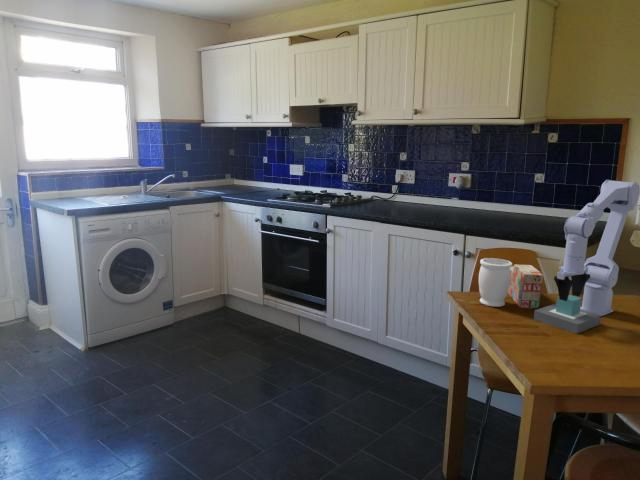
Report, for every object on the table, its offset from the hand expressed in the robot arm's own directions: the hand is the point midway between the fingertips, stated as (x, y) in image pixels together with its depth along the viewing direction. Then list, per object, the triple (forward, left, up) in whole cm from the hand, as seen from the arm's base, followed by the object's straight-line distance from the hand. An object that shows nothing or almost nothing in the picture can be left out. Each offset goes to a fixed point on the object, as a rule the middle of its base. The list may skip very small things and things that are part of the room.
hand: (569, 297), depth 157 cm
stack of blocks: (-8, -22, -8) cm, 25 cm away
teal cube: (0, 0, -5) cm, 5 cm away
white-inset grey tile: (0, 0, -8) cm, 8 cm away
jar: (+5, -24, -8) cm, 26 cm away
